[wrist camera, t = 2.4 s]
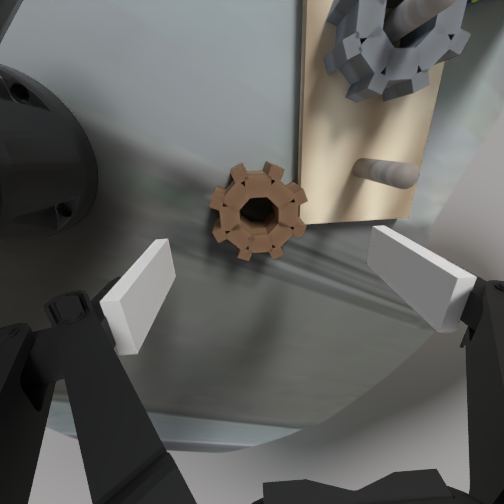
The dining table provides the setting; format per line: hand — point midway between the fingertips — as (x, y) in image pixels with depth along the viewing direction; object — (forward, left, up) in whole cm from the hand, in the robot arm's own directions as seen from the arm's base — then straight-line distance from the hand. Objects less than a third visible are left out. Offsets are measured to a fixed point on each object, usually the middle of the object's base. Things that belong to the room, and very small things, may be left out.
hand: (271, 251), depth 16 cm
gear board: (+10, +9, -12) cm, 18 cm away
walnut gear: (0, 0, -12) cm, 12 cm away
